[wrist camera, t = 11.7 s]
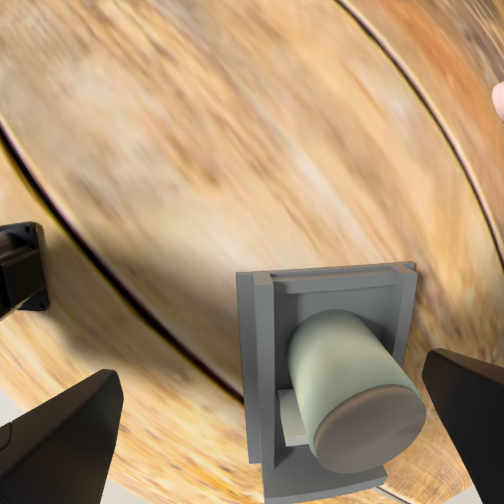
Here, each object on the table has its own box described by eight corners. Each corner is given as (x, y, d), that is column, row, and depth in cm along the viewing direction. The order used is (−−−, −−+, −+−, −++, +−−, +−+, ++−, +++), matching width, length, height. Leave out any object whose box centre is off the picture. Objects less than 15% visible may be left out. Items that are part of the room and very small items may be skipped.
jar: (284, 386, 21) (307, 483, 12) (285, 313, 19) (318, 405, 11) (362, 376, 21) (410, 459, 12) (372, 305, 20) (443, 378, 11)
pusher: (277, 400, 21) (286, 446, 16) (277, 390, 20) (286, 436, 16) (369, 387, 21) (393, 426, 16) (371, 377, 21) (396, 416, 16)
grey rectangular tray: (249, 459, 23) (252, 507, 18) (236, 272, 19) (236, 309, 14) (374, 441, 24) (393, 481, 18) (411, 261, 19) (457, 287, 14)
